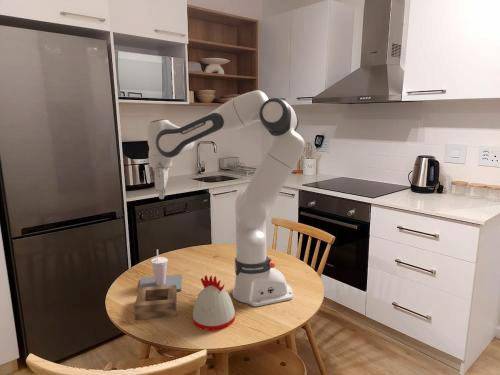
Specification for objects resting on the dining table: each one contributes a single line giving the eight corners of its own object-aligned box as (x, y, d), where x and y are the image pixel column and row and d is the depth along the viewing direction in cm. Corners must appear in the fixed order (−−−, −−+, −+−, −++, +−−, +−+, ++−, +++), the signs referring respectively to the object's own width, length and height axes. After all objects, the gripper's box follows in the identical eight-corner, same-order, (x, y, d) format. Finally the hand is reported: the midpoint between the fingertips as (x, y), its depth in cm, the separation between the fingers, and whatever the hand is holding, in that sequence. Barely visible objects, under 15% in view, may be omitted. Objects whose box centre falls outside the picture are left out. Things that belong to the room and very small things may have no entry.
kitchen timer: (205, 304, 130) (204, 265, 127) (241, 312, 125) (240, 270, 122) (184, 325, 117) (182, 282, 114) (223, 334, 112) (222, 289, 109)
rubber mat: (181, 276, 152) (181, 274, 152) (181, 291, 139) (180, 288, 139) (141, 279, 149) (141, 277, 149) (137, 294, 137) (137, 292, 136)
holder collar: (176, 297, 135) (176, 284, 134) (175, 316, 122) (175, 302, 121) (140, 300, 133) (139, 287, 132) (135, 320, 120) (134, 306, 119)
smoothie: (151, 281, 146) (149, 247, 143) (167, 278, 148) (166, 245, 145) (153, 288, 140) (150, 253, 137) (170, 285, 142) (168, 251, 139)
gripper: (167, 164, 134) (169, 201, 136) (170, 158, 153) (171, 190, 156) (149, 165, 133) (152, 202, 135) (154, 158, 152) (156, 191, 155)
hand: (162, 196), depth 146 cm, fingers open, 8 cm apart
